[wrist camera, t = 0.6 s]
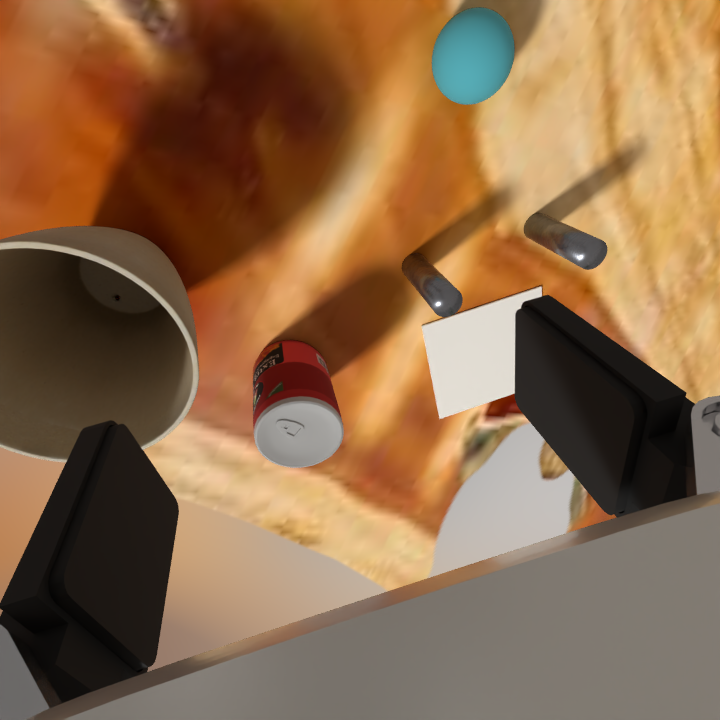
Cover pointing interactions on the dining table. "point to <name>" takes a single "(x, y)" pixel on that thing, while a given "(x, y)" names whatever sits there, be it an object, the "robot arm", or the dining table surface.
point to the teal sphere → (473, 56)
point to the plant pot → (91, 339)
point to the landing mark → (474, 354)
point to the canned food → (294, 406)
